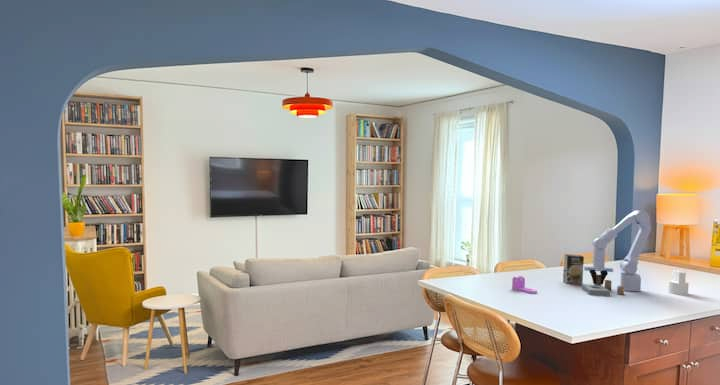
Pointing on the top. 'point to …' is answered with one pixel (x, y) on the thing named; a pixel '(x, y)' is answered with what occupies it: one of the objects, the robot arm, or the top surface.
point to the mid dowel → (608, 284)
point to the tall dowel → (598, 279)
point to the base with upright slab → (678, 283)
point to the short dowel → (620, 290)
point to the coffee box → (573, 269)
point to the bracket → (521, 285)
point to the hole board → (595, 290)
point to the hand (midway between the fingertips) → (598, 284)
